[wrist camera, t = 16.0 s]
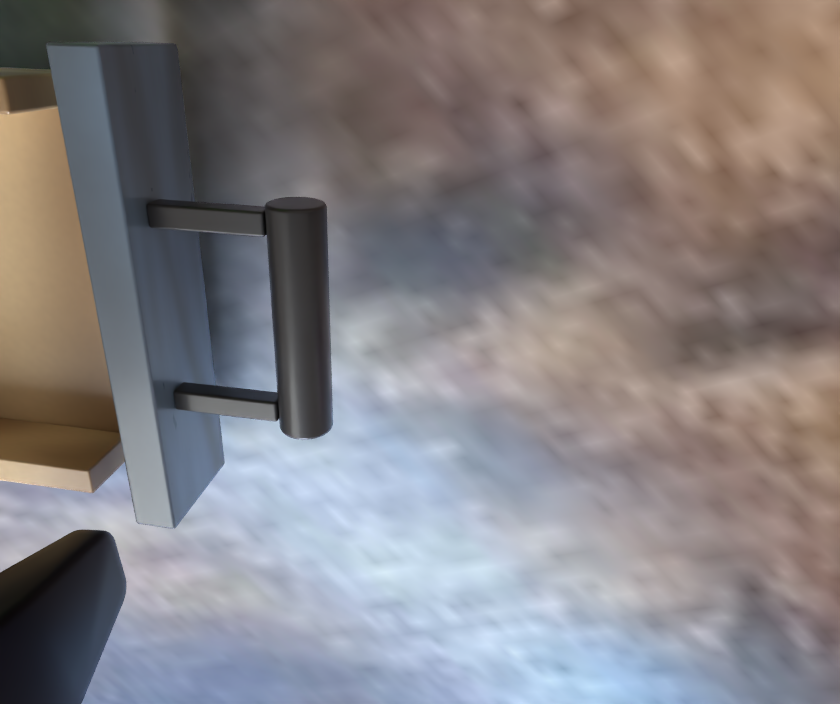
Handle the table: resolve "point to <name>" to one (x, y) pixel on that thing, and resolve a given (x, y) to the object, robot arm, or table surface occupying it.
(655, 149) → the table surface
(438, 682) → the table surface
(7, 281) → the drawer
